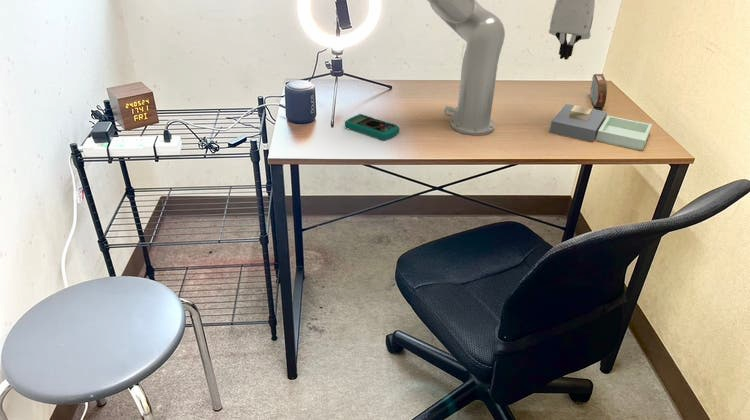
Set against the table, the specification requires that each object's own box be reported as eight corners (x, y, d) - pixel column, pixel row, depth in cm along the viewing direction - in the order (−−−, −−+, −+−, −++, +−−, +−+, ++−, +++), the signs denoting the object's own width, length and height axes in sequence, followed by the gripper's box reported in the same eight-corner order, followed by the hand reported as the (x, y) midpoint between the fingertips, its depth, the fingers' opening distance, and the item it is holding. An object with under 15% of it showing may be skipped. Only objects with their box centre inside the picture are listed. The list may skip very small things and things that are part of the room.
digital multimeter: (385, 143, 150) (386, 133, 148) (343, 129, 157) (343, 119, 156) (401, 134, 155) (401, 125, 153) (359, 121, 162) (359, 112, 161)
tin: (603, 111, 171) (610, 85, 167) (593, 111, 172) (599, 84, 167) (597, 95, 184) (603, 70, 179) (587, 94, 184) (593, 69, 180)
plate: (549, 132, 157) (551, 121, 155) (563, 114, 168) (566, 103, 166) (592, 142, 151) (595, 130, 150) (604, 123, 163) (607, 111, 161)
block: (569, 117, 157) (570, 110, 156) (573, 111, 161) (574, 105, 160) (587, 121, 155) (588, 114, 154) (591, 115, 159) (592, 108, 158)
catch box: (595, 140, 152) (598, 130, 151) (605, 125, 162) (607, 115, 160) (642, 151, 147) (645, 140, 146) (649, 134, 157) (652, 124, 155)
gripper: (545, -14, 144) (533, 56, 154) (605, -7, 137) (589, 66, 147) (553, -18, 149) (541, 50, 159) (611, -12, 143) (595, 59, 153)
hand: (564, 57), depth 153 cm, fingers closed
